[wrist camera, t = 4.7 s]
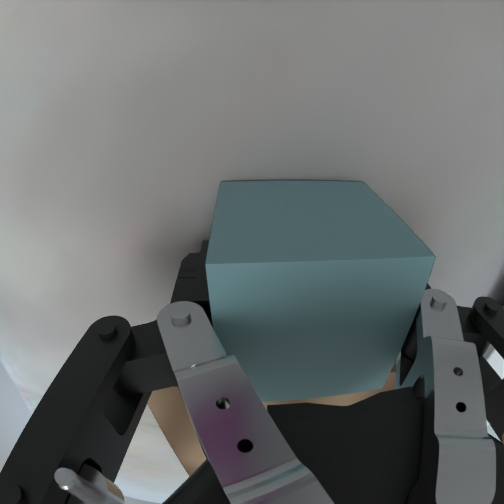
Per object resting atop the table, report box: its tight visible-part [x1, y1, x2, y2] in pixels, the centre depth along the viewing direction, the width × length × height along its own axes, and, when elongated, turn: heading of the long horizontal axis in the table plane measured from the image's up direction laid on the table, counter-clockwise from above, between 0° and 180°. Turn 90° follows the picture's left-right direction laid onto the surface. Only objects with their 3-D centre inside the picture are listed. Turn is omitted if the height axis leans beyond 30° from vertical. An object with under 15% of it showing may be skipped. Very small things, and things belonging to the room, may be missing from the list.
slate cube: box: [205, 180, 436, 402], centre depth 10 cm, size 6×6×6 cm
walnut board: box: [147, 359, 397, 476], centre depth 21 cm, size 16×18×2 cm
